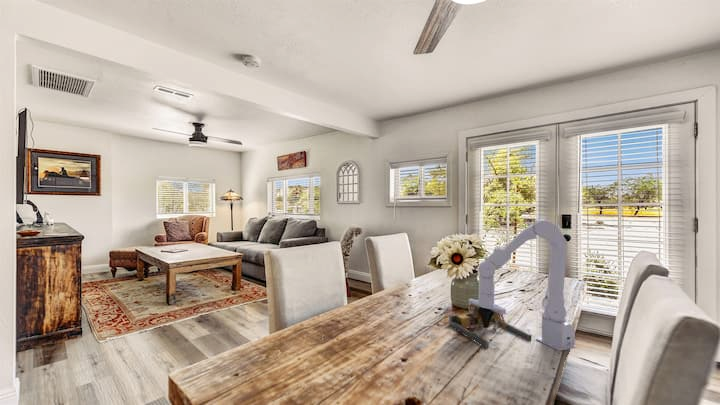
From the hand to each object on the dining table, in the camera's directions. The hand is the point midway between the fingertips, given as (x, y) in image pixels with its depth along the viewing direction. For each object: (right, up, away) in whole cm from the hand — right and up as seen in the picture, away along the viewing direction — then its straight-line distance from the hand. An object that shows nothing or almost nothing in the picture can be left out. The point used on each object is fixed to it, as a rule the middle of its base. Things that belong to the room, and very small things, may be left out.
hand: (486, 327), depth 118 cm
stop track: (0, -2, -1) cm, 2 cm away
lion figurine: (+1, -1, +2) cm, 2 cm away
